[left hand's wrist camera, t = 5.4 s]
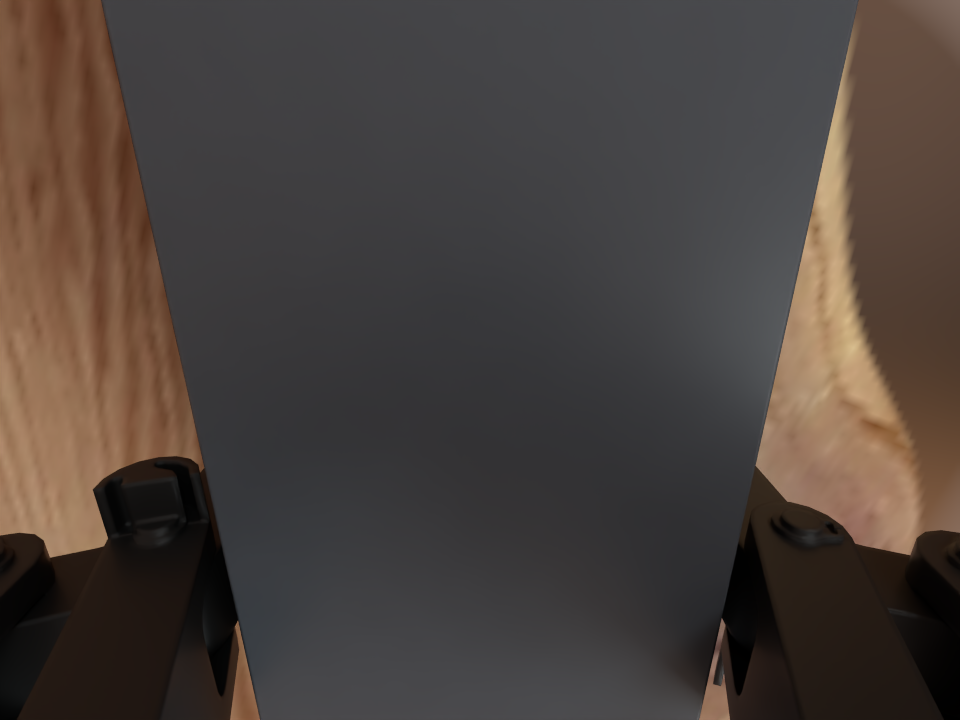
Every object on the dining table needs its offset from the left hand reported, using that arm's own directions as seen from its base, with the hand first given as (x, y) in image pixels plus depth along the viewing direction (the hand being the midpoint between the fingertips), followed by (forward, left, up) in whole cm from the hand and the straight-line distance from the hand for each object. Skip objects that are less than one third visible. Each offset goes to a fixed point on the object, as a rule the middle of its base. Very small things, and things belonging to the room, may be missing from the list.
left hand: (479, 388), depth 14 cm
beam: (+2, +22, 0) cm, 22 cm away
